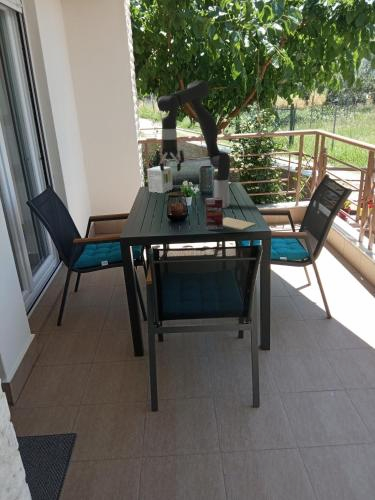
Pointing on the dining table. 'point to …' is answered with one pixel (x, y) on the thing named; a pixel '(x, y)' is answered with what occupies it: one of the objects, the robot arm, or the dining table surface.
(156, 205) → the dining table surface
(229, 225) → the cork placemat
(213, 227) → the supplement box
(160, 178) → the supplement box
